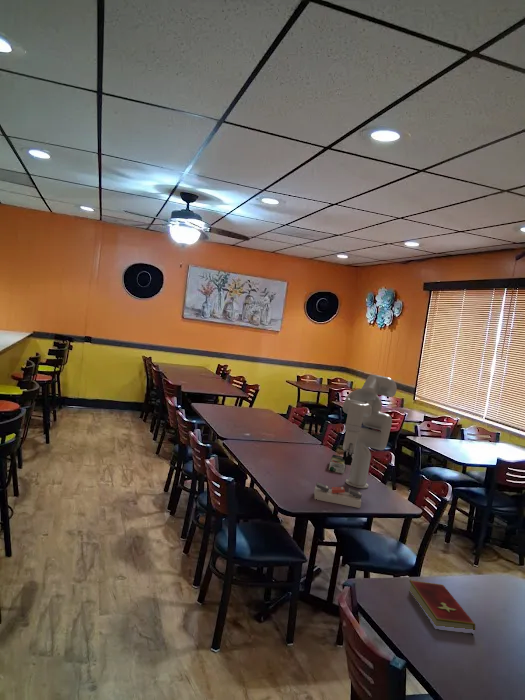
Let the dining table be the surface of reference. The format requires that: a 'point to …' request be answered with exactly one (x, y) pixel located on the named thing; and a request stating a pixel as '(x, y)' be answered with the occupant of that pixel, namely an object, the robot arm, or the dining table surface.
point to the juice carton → (337, 464)
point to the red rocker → (338, 490)
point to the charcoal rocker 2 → (355, 493)
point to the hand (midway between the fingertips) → (346, 462)
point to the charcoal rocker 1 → (322, 486)
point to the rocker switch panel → (337, 497)
